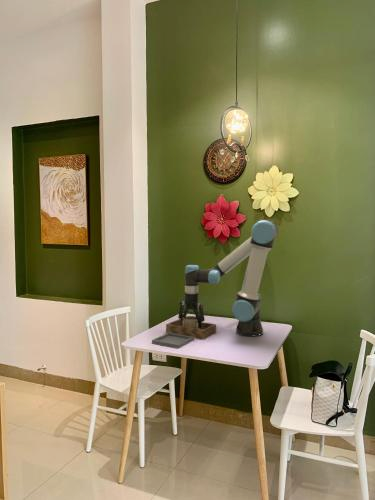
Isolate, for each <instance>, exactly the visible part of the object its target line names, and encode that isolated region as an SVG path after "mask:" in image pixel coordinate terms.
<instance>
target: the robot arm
mask: <svg viewBox="0 0 375 500" xmlns="http://www.w3.org/2000/svg"><path fill="white" fill-rule="evenodd" d="M278 235H279V227H278V226H277V224H276V223H275V222H274V221H272V220H268V219H267V220H266V219H261V220H259V221H257V222H255V223H254V225H252V228H251V236H250V237H249V238H248V239H246V240H245V241H244V242H242V243H241V244H240V245H238V247H236V248H235V249H234V250H233V251H231V252H230V253H229V254H228V255H226V256H225V257H224V258H223V259H222V260H220V261H219V262H218V263H217V264H216V265H214V266H213V267H211V268H209V269H204V268H203V269H200V267H199V265H198V264H187V265H186V266H185V269H184V270H185V271H184V301H183V300H182V301H180V302H179V311H178V316H177V318H178V319H181V325H182V326H183V327H185V324H184V319H183V317H186V316H188V315H187V314H188V313H189V310H192V312H194V315H195V316H196V318H197V321H198V322H197V329H200V328H201V322H205V321H206V320H205V314H204V309H203V308H204V303H199V284H209V285H210V284H211V285H213V284H219V283H220V280H222V278H223V277H224V276H225V275H226V274H228V272H230V271H231V270H233V269H234V268H236V266H238V265H239V264H240V263H242V262H243V261H244V260H246V258H248V257H249V258H248V262H247V265H246V270H245V273H244V279H243V282H242V286H241V290H240V291H238V292H237V294H236V298H235V301H234V303H233V305H232V307H231V312H232V315H233V317H234V318H235V319H236V320H237V321H238V322H237V324H236V328H235V329H236V330H235V333H237V334H238V335H240V336H244V335H246V336H245V337H253V336H252V335H259V334H262V333H263V334H264V328H263V324H262V321H261V302H262V301H261V300H262V297H261V293H258V292H259V289H260V284H261V282H262V281H261V280H262V278H263V273H264V270H265V269H264V268H265V265H266V261H267V257H268V254H269V251H271V250H272V249H273V246H274V243H275V240H276V239H277V237H278ZM184 308H185V309H184ZM263 334H262V335H263ZM259 336H260V335H259Z"/></svg>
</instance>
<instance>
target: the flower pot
mask: <svg viewBox="0 0 375 500" xmlns="http://www.w3.org/2000/svg"><path fill="white" fill-rule="evenodd" d="M183 319H184V324H185V327H189V328H195V329H197V322H198V321H197V318H196V316H194V315H186V317H183Z"/></svg>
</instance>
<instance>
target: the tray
mask: <svg viewBox="0 0 375 500" xmlns="http://www.w3.org/2000/svg"><path fill="white" fill-rule="evenodd" d="M193 341H195V338H194V337H191V336H185V335H179V334H174V333H164V334H163V335H161V336H158V337H156V338H153V339H151V344H155V345H159V346H164V347H169V348H175V349H180V348H182V347H184V346H186V345H188V344H190V343H191V342H193Z"/></svg>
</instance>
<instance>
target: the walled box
mask: <svg viewBox="0 0 375 500" xmlns="http://www.w3.org/2000/svg"><path fill="white" fill-rule="evenodd" d="M167 333H174V334H179V335H185V336H191V337H194V339H199V340H202V341H204V340H206V339H208V338H210V337H212V336H214V335H216V334H217V324H216V323H210V322H205V321H203V322H201V328H200V329H195V328H189V327H183V326H182V325H181V319H179V318H178V319H176V320H173V321H171V322H169V323H166V324H165V334H167Z"/></svg>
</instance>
